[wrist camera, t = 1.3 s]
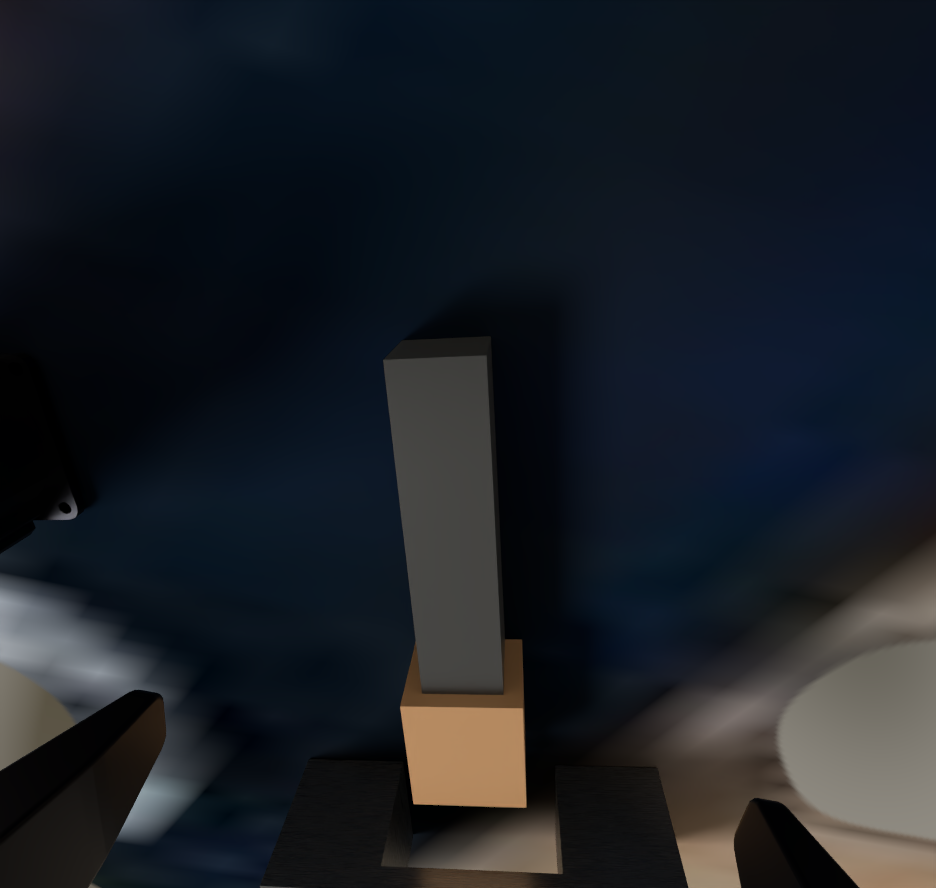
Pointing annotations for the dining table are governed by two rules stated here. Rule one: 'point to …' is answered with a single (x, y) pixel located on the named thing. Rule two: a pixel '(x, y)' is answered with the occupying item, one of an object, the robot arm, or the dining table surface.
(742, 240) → the dining table surface
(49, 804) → the robot arm
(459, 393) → the plug
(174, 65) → the dining table surface
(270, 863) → the housing
